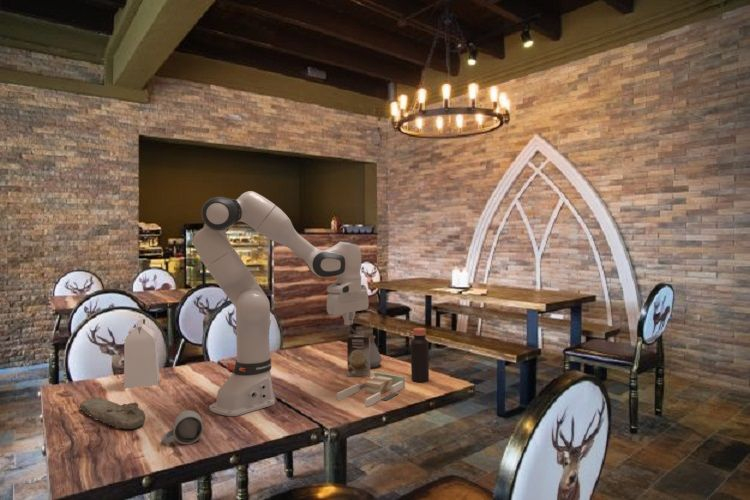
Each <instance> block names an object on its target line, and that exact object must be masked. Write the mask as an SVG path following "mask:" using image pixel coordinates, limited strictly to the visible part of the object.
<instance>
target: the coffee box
mask: <svg viewBox="0 0 750 500" xmlns="http://www.w3.org/2000/svg"><path fill="white" fill-rule="evenodd" d="M370 335H371V334H366V333H365V334H363V333H362V334H361V333H358V334H354V333H349V334H348V335H347V339H346V342H347V344H346V345H347V346H346V347H347V355H346V357H347V359H346V361H347V365H346V366H347V377H360V378H361V377H365V378H366V377H369V378H370V375H371V370H372V369H371V368H370Z"/></svg>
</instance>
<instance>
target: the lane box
mask: <svg viewBox="0 0 750 500" xmlns="http://www.w3.org/2000/svg"><path fill="white" fill-rule="evenodd" d="M378 376H383V377H388V378H393V385H392V386H391V390H390V394H392V393H397V392H399V391H401V390H402V389H405V388H406V387H405V385H406V384H405V383H406V381H405V380H406V379H405V376H401V375H396V374H390V373H384V372H380V371H379V372H378V371H375V372H373V376H371V377H369V380H371V379H373V378H376V377H378ZM360 390H361V389H360V384H359V383H356V384H354V385H352V386H349V387H347V388H345V389H343V390H341V391H338V392H336V401H342V400H344V399H346V398H348V397H350V396H352V395H354V394H356V393H358V392H360ZM381 399H382V394H381V393H379V392H378V393H376V394H372V395H371V396H369V397H368V396H367V398H364V406H365V408H369V407H371V406H373V405H374V404H377V403H378V402H380V401H382V400H381Z"/></svg>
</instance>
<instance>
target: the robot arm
mask: <svg viewBox="0 0 750 500" xmlns="http://www.w3.org/2000/svg"><path fill="white" fill-rule="evenodd" d="M200 211H201V212H200V213H201V215H200V216H201V220H202V221H203V223H204V226H203V227H202V228H200V229H199V230H198V231H197V232H196V233H195V235H193V238H192V243H193V244H192V245H193V246H194V249H195V251H196V253H197V255H198V257H199V258H200V260H201V261H202V263H203V265H204V266H205V268H206V269H207V271H208V272H209V273H210V275H211V277H212V278H213V280H214V281H215V282H216V284H217V286H219V288H220V289H221V290H222V291H223V293H224V294H225V295H226V297H227V298H228V299H229V301H230V302H231V303H232V305H233V306H234V308H235V323H236V325H235V326H236V327H235V329H236V330H235V332H236V333H235V334H236V336H235V337H236V340H235V341H236V360H235V363H234V364H231V363H228V364H227V365H226V369H227V370H228V371H232V373H231V375H230V376H229V377H228V379H227V380H226V381H225V382H224V383H223V384H222V385H221V386H220V387H219V388H218V390H217V394H216V402H213V403H212V404H210V405H209V407H208V408H209V411H210V412H212V413H214V414H217V415H221V416H227V417H237V416H241V415H244V414H248V413H250V412H251V413H252V412H254V411H258V410H261V409H265V408H267V407H272V406H274V405H276V395H275V390H274V386H273V381H272V375H271V370H272V358H271V357H270V354H271V353H270V326H271V325H270V324H271V305H270V304H271V303H270V300H269V298H268V297H267V296H268V295H266V293H265V292H264V289H262V287H261V286H260V285H259V283H258V282H257V280H256V279H255V277H254V275H252V274H253V273H252V272H251V271H250V270H249V268H248V267H247V265H246V264H245V262H244V261H243V260H242V257H241V256H240V255H239V254H238V252H237V250H236V249H235V248H234V246H233V245H232V244H231V243H232V242H230V241H229V239H228V237H227V232H228V231H229V230H230V229H231V227H233V226H234V225H235V224H236V223H238V222H243V223H245V224H246V225H248V226H250V227H251V228H252V229H253V230H254V231H255V232H257V233H258V234H260V235H262V236H263V237H265V238H266V239H269V240H270V241H273V242H274V243H277V244H279V245H280V244H281V245H283V246H285V247H286V248H288V250H290V251H291V252H293V253H294V254H295V255H297V256H298V257H299V258H301V260H303V262H304V263H305V265H306V266H307V269H308V270H309V271H310V272H311V274H312V275H314V276H316V277H320V278H323V279H324V278H325V279H327V278H332V277H336V281H335V282H333V283H332V284H330V285H328V286H326V287H327V288H326V292H327V293H328V294H327V295H326V297H327V298H326V312H327V314H328V315H329V316H331V315H332V316H338V315H341V317H342V319H343V325H345V326H351V325H353V324H354V318H355V317H356V312H358V311H359V312H360V311H365V310H368V308H369V305H370V304H369V292H368V291H367V290H368V289H367V286H366V285H364V284H362V275H361V268H362V252H361V251H362V250H361V247H360V245H359V244H357V243H356V242H355V243H354V242H351V241H346V240H345V241H344V240H341V241H338V243H336V244H335V245H333V246H330V247H329V248H325V249H323V248H319V247H316V246H314V245H313V244H311V243H310V242H309V241H308V240H307V239H305V238H304V237H303V236H302V235H300V234H299V232H298V231H296V229H295V228H294V225H293V223H292V221H291V219H290V218H289V217H288V215H287V214H286V213H285V212H284V211H283V210H282V209H281V208H280V207H279V206H277V205H276V204H275V203H273V202H272V201H270V200H269V199H268V198H266V197H265V196H264V195H262V194H259V193H258V192H255V191H252V190H249V191H245V192H243V193H242V194H241V195H240V196H239V197H237V198H236V199H234V198H227V197H224V196H216V197H215V196H214V197H212V198H209V199H208V200H207V201H205V203H204V204H203V205H202V207H201V210H200Z"/></svg>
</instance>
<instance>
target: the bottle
mask: <svg viewBox="0 0 750 500" xmlns="http://www.w3.org/2000/svg"><path fill="white" fill-rule="evenodd" d="M412 331H413V334H412V335H413V339H412V340H411V341H410V360H411V362H410V363H411V368H410V369H411V372H410V373H411V381H413V382H414V383H427V382H428V381H429V380H430V373H429V371H430V366H429V365H430V363H429V357H430V356H429V355H430V353H429V352H430V351H429V340H427V338H426V336H427V329H426V328H424V327H415V328H413V330H412Z"/></svg>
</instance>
